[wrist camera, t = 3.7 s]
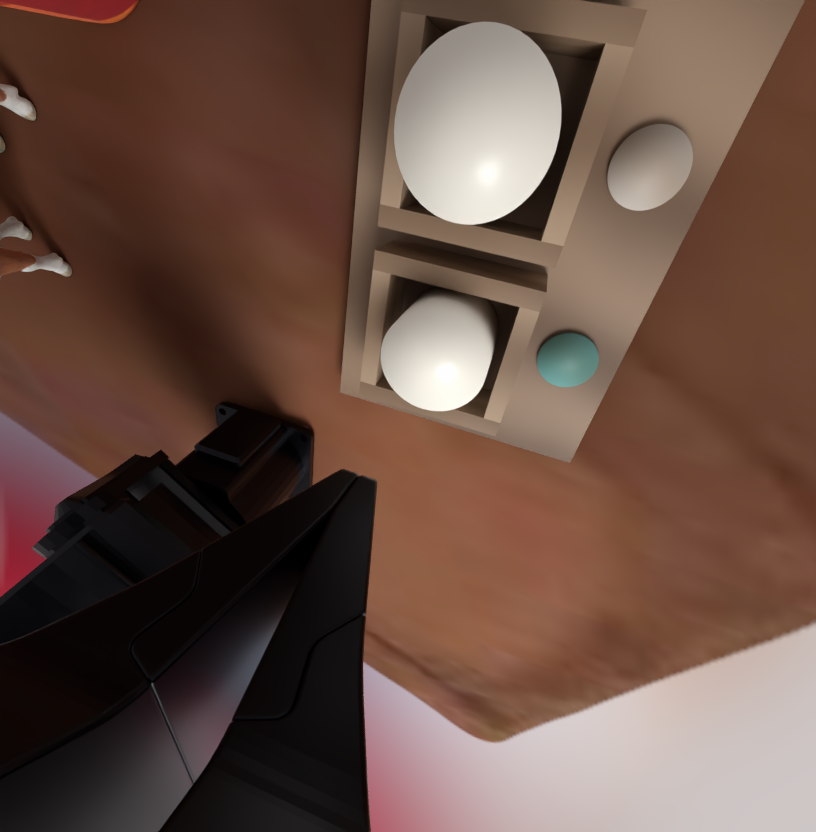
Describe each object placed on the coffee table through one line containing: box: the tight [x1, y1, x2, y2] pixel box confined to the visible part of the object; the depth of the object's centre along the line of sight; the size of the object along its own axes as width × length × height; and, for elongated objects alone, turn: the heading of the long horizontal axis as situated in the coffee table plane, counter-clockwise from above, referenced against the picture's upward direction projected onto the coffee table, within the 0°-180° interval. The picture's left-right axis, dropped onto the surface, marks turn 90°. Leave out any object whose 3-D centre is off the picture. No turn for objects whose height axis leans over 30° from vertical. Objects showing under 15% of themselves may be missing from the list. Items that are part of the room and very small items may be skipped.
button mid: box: [394, 22, 561, 225], centre depth 11 cm, size 4×4×4 cm
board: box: [340, 0, 805, 463], centre depth 14 cm, size 24×12×4 cm, turn 171°
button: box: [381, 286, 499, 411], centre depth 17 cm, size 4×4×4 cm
